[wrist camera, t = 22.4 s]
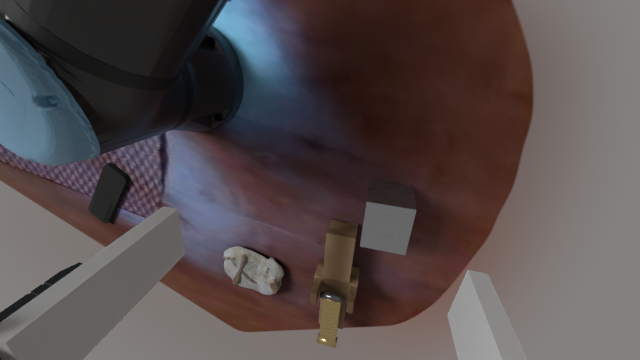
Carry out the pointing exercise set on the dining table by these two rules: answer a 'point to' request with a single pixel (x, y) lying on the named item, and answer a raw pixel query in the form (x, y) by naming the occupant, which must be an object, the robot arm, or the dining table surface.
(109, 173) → the remote control
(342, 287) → the tan wooden beam joint
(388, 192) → the brushed steel cube
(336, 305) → the lever
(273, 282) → the stone
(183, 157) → the dining table surface
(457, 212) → the dining table surface
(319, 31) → the dining table surface
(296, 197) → the dining table surface
